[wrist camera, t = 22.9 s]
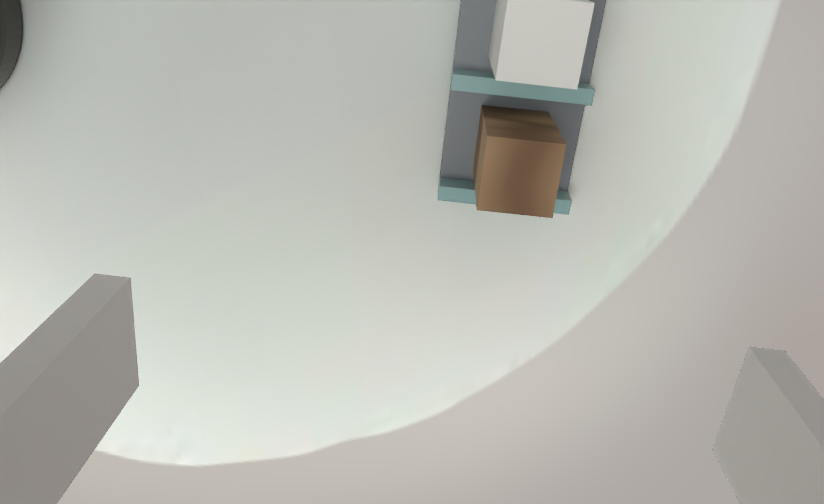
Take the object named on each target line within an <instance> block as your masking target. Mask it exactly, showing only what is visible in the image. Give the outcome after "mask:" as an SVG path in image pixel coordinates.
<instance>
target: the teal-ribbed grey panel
mask: <svg viewBox="0 0 824 504" xmlns="http://www.w3.org/2000/svg"><path fill="white" fill-rule="evenodd" d="M496 1H497V0H461V4H460V13H459V21H458V29H457V37H456V46H455V54H454V62H453V70H452V79H451V87H450V95H449V104H448V112H447V120H446V128H445V137H444V145H443V153H442V161H441V170H440V178H439V186H438V200H442V201H451V202H460V203H470V204H476V196H475V185H474V175H473V165H474V157H475V150H476V142H477V135H478V128H479V120H480V113H481V106H482V105H489V106H498V107H508V108H518V109H527V110H537V111H546V112H549V114H550V115H551V117H552V119H553V121H554V123H555V124H556V126H557V128H558V130H559V132H560V133H561V135H562V137H563V139H564V141H565V142H566V150H565V155H564V160H563V165H562V171H561V176H560V181H559V186H558V191H557V197H556V202H555V207H554V212H553V213H560V214H569V212H570V207H571V202H572V200H571V198H570V196H569V194H568V191H567V190H568V185H569V180H570V175H571V170H572V165H573V160H574V155H575V150H576V146H577V141H578V136H579V131H580V126H581V121H582V116H583V111H584V106H585V105H592V101H593V96H594V91H595V89H594V88H593V87H592V86H591V85H590V84H589V82H590V77H591V72H592V67H593V62H594V57H595V52H596V47H597V42H598V37H599V32H600V27H601V23H602V18H603V13H604V8H605V3H606V0H589V1H591V2H593V3H595V4H594V9H593V14H592V19H591V24H590V29H589V34H588V39H587V44H586V49H585V54H584V59H583V64H582V69H581V74H580V79H579V83H578V88H577V90H576V89H567V88H558V87H550V86H541V85H532V84H523V83H515V82H506V81H497V80H495V77H494V74H493V71H492V67H491V64H490V61H489V58H488V56H489V49H490V42H491V35H492V28H493V21H494V15H495V8H496Z"/></svg>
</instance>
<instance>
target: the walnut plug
mask: <svg viewBox="0 0 824 504" xmlns="http://www.w3.org/2000/svg"><path fill="white" fill-rule="evenodd" d="M565 150H566V142H565V141H564V139H563V137H562V135H561V133H560V132H559V130H558V128H557V126H556V124H555V123H554V121H553V119H552V117H551V115H550V114H549V112H546V111H537V110H527V109H518V108H508V107H498V106H489V105H482V106H481V113H480V120H479V128H478V135H477V142H476V150H475V157H474V165H473V175H474V185H475V196H476V206H477V210H482V211H492V212H501V213H511V214H520V215H530V216H539V217H549V218H553V212H554V207H555V202H556V197H557V191H558V186H559V181H560V176H561V171H562V165H563V160H564V155H565Z"/></svg>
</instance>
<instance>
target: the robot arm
mask: <svg viewBox="0 0 824 504" xmlns="http://www.w3.org/2000/svg"><path fill="white" fill-rule="evenodd" d="M21 36H22V19H21V10H20V4H19V0H0V88H1V87H2V86H3V84H4V83H5V82H6V81H7V79H8V77H9V76H10V74H11V72H12V70H13V68H14V66H15V63H16V61H17V58H18V54H19V50H20V45H21ZM138 386H139V379H138V367H137V354H136V341H135V329H134V316H133V303H132V291H131V278H128V277H119V276H110V275H101V274H94V275H93V276H92V277H91V278H90V279H89V280H88V281H86V282H85V283H84V284H83V285H82V286H81V287H80V288H79V289H78V290H77V291H76V292H75V293H74V294H73V295H72V296H71V297H70V298H69V299H68V300H66V301H65V302H64V303H63V304H62V305H61V306H60V307H59V308H58V309H57V310H56V311H55V312H54V313H53V314H52V315H51V316H50V317H49V318H48V319H47V320H45V321H44V322H43V323H42V324H41V325H40V326H39V327H38V328H37V329H36V330H35V331H34V332H33V333H32V334H31V335H30V336H29V337H28V338H27V339H25V340H24V341H23V342H22V343H21V344H20V345H19V346H18V347H17V348H16V349H15V350H14V351H13V352H12V353H11V354H10V355H9V356H8V357H7V358H5V359H4V360H3V361H2V362H1V363H0V504H57V503H58V501H59V500H60V499H61V497H62V496H63V494H64V493H65V491H66V490H67V488H68V487H69V485H70V484H71V483H72V481H73V480H74V478H75V477H76V475H77V474H78V473H79V471H80V470H81V468H82V467H83V465H84V464H85V462H86V461H87V460H88V458H89V457H90V455H91V454H92V452H93V451H94V449H95V448H96V447H97V445H98V444H99V442H100V441H101V439H102V438H103V436H104V435H105V434H106V432H107V431H108V429H109V428H110V426H111V425H112V423H113V422H114V421H115V419H116V418H117V416H118V415H119V413H120V412H121V410H122V409H123V408H124V406H125V405H126V403H127V402H128V400H129V399H130V397H131V396H132V395H133V393H134V392H135V390H136V389H137V387H138ZM713 451H714V454H715V455H716V457H717V459H718V461H719V463H720V465H721V467H722V469H723V471H724V473H725V475H726V477H727V479H728V481H729V483H730V485H731V487H732V489H733V491H734V493H735V495H736V497H737V499H738V501H739V503H740V504H824V398H823V397H822V396H821V395H820V394H819V392H818V391H817V390H816V388H815V387H814V386H813V385H812V384H811V382H810V381H809V380H808V379H807V377H806V376H805V375H804V374H803V372H802V371H801V370H800V369H799V367H798V366H797V365H796V364H795V362H794V361H793V360H792V359H791V357H790V356H789V355H788V354H787V352H786V351H783V350H774V349H765V348H756V347H749V348H748V351H747V353H746V356H745V359H744V362H743V365H742V367H741V370H740V373H739V376H738V379H737V382H736V385H735V387H734V390H733V393H732V396H731V399H730V401H729V404H728V407H727V410H726V413H725V416H724V418H723V421H722V424H721V427H720V430H719V433H718V435H717V438H716V441H715V444H714V447H713Z"/></svg>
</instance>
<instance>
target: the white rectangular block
mask: <svg viewBox="0 0 824 504" xmlns="http://www.w3.org/2000/svg"><path fill="white" fill-rule="evenodd" d="M594 4H595V3H593V2H591V1H589V0H497V1H496V8H495V15H494V21H493V28H492V35H491V42H490V49H489V56H488V58H489V61H490V64H491V67H492V71H493V74H494V77H495V80H497V81H506V82H515V83H523V84H532V85H541V86H550V87H558V88H567V89H576V90H577V88H578V83H579V79H580V74H581V69H582V64H583V59H584V54H585V49H586V44H587V39H588V34H589V29H590V24H591V19H592V14H593V9H594Z"/></svg>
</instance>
